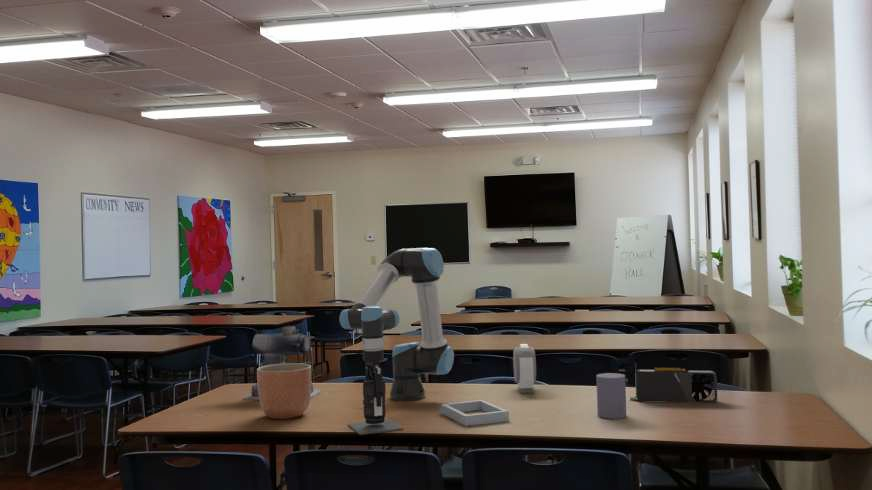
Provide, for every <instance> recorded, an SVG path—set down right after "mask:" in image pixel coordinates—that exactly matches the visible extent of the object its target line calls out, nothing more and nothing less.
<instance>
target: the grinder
mask: <svg viewBox="0 0 872 490" xmlns="http://www.w3.org/2000/svg"><path fill="white" fill-rule="evenodd" d="M280 330H281V333H256V334H255V335H254V337H253V339H252V344H251V346H252V350H253V352H254V353H255V354H257V355H259V354H260V355H264V357H263V362H262V366H261V367H263V366H267V365H274V364H286V360H285V355H293V356H294V357H298V355H302V354H303V353H307V352H308V351H309V350H310V347H311V341H310V340H311V339H310V338H309V336H308V335H305V334H303V333H299V332H300V331H299V328H297V329H296V326H289V325H288V326H284V327H282V328H281V329H280ZM313 386H314V385H313V381H312V380H311V396H310V400H311V399H313V398H315V397H316V396H318V395H320V394H321V393H323V389H314V387H313ZM241 400H242V401H243V400H245V401H247V400H248V401H249V400H250V401H251V400H252V401H253V400H254V401H255V400H257V401H259V395H258V384H257V383H255V384H254V385H252V386H251V393H249V394H247V395H244V396H243V397H242V398H241Z"/></svg>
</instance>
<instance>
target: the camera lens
mask: <svg viewBox="0 0 872 490" xmlns="http://www.w3.org/2000/svg"><path fill="white" fill-rule="evenodd" d="M383 390H384V396H382V415H380V416H374V398H373V396H375V394H374V383H373V380H368V379H367V380H365V379H364V380H363V384H362V395H363V400H362V405H363V417H364V420H365V422H366V423H367V424H380V423H383V422H384V419H385V418H386V412H387V411H386V380H384V379H383Z"/></svg>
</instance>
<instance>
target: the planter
mask: <svg viewBox="0 0 872 490" xmlns="http://www.w3.org/2000/svg"><path fill="white" fill-rule="evenodd" d="M311 381H312V365H311V364H308V363H297V362H296V363H293V362H292V363H291V362H290V363H288V362H287V363H286V362H285V364H274V365H267V366H263V367H262V366H259V367H258V368H256V382H257V383H256V384H258V395H259V400H258V402H259V405H260V409H261V411H262V413H263V414H264V415H265V416H267V418H270V419H275V420H289V419H294V418H298V417H301V416H302V415H304V414H305V413H306V411H307V410H308V409H309V406H310V402H311V399H310V396H311Z"/></svg>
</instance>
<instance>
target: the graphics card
mask: <svg viewBox="0 0 872 490" xmlns="http://www.w3.org/2000/svg"><path fill="white" fill-rule="evenodd" d="M634 365H635V373H634V375H635V397H630V398H629V399H630V401H633V400H637V401H639V402H643V401H667V402H666V403H688V402H692V404H693V402H694V403H695V402H696V403H695V404H697V403H700V404H701V403H702V404H715V403H717V401H718V383H717V382H718V377H717V374H716V373H715V371H713V370H686V368H681V367H654V369H637V363H636V362H635V364H634Z"/></svg>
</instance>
